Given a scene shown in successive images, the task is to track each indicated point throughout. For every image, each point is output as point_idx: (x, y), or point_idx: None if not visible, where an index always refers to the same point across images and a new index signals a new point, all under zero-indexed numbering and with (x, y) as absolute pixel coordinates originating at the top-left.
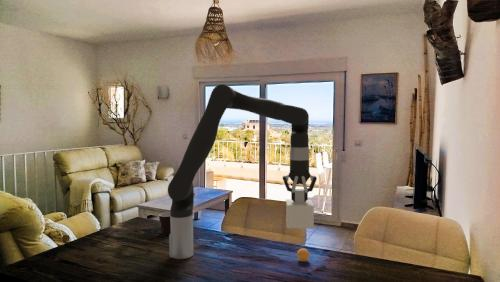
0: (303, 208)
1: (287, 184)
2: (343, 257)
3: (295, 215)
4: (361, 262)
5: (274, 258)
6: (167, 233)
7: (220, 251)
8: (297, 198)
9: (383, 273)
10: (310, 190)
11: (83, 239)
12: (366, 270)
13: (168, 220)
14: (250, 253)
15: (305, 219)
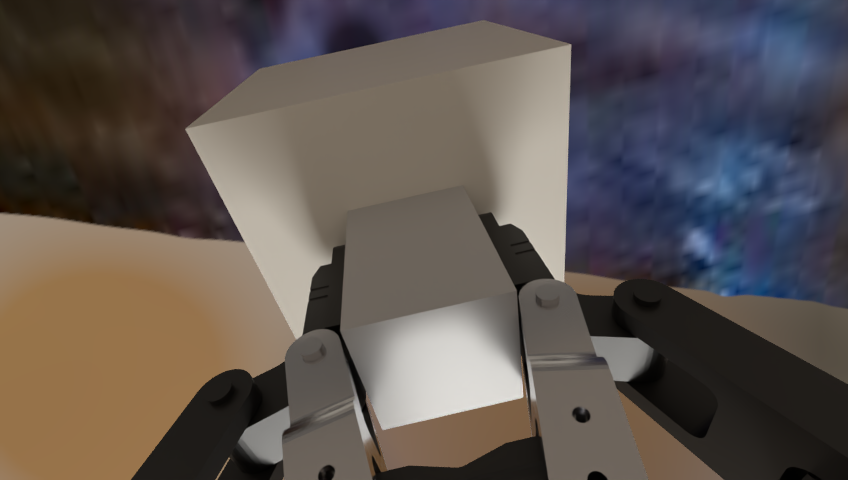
0: (335, 87)
1: (746, 378)
2: (196, 184)
3: (427, 50)
4: (96, 151)
5: None
6: None
7: (743, 99)
8: (444, 225)
9: None
10: (233, 381)
11: None
12: (31, 59)
13: None
14: (612, 114)
15: (322, 68)
